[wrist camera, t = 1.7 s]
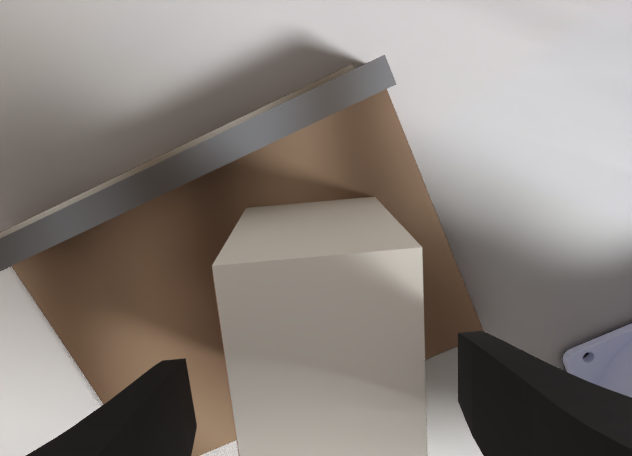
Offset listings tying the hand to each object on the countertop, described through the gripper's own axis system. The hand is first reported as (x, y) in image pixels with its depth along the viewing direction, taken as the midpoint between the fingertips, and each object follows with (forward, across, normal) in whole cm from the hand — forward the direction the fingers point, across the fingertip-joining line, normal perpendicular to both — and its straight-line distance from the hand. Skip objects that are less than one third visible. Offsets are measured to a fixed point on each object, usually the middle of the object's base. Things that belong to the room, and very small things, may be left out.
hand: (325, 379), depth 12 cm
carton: (+7, 0, 0) cm, 7 cm away
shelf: (+8, +3, 0) cm, 8 cm away
